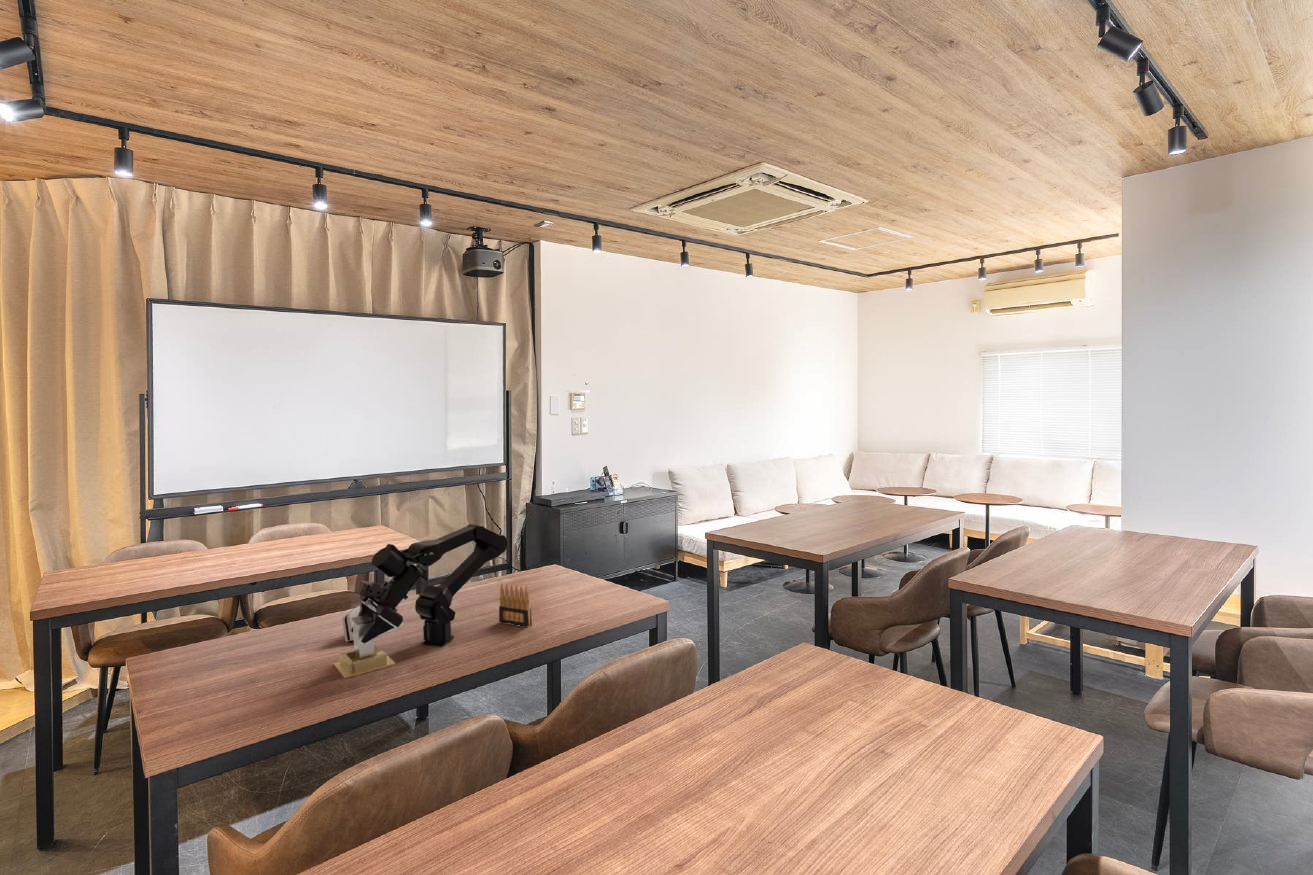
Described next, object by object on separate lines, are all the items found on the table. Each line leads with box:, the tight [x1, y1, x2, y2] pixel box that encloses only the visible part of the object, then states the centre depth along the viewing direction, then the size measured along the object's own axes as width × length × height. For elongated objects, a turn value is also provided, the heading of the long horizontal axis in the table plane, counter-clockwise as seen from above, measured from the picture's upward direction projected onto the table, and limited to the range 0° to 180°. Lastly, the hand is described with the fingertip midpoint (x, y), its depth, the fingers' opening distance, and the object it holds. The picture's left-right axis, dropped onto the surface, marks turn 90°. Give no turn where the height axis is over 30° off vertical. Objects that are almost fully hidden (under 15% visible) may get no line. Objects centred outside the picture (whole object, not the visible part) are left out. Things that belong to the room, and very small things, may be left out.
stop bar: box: [352, 614, 375, 661], centre depth 164 cm, size 4×5×12 cm
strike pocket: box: [333, 644, 396, 679], centre depth 164 cm, size 12×11×3 cm
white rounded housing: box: [341, 605, 405, 643], centre depth 187 cm, size 17×5×10 cm, turn 152°
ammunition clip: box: [498, 582, 533, 627], centre depth 191 cm, size 11×2×12 cm, turn 65°
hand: (357, 637), depth 163 cm, fingers open, 9 cm apart
